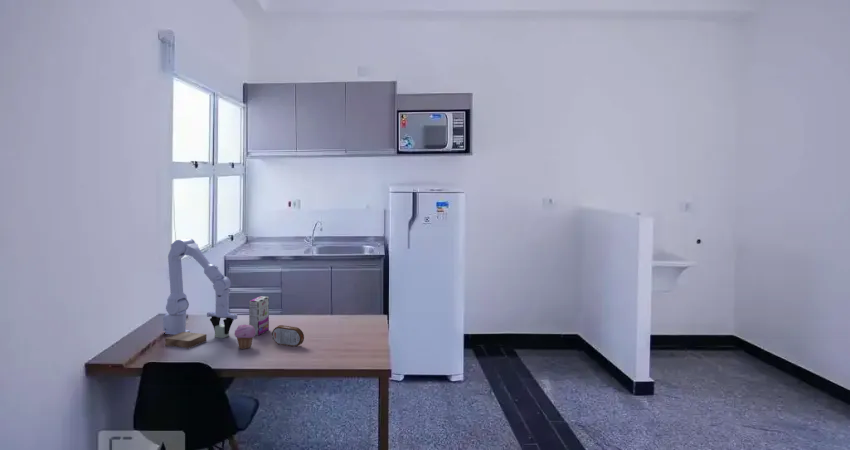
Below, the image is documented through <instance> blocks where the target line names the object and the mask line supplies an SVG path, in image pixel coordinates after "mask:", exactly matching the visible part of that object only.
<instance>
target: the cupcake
mask: <svg viewBox="0 0 850 450" xmlns="http://www.w3.org/2000/svg"><path fill="white" fill-rule="evenodd" d="M255 334H256V333H255V329H254V327H253V326H251V325H249V324H240V325H238V326H237V328H236V329H235V330H234V336H235V338H236V339H237V343H238V344H237V345H238V348H239V349H241V350H245V349H250V348H251V347H252V343H253V339H254V338H255Z"/></svg>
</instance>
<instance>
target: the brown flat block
mask: <svg viewBox="0 0 850 450" xmlns="http://www.w3.org/2000/svg"><path fill="white" fill-rule="evenodd" d="M205 342H207V333H199V332H191V331H189V332H181V333H178V334H175V335H173V334H172V335H171V336H168V337H165V338H164V344H165V346H168V347H169V346H170V347H177V348H178V347H179V348H187V349H191V348H193V347H195V346H198V345H200V344H202V343H205Z"/></svg>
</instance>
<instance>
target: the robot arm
mask: <svg viewBox="0 0 850 450" xmlns="http://www.w3.org/2000/svg"><path fill="white" fill-rule="evenodd" d="M185 256H188V257H189V256H190V257H192V258H193V259H194V260H196V262H197V263H198V264H199V265H200V266H201V267H202V268H203V274H205V276H206V277H207V278H208V280H209V281H210V282H211V283H212V287H213V289H214V291H215V311H207V312H206V318H209V321H210V323H211V325H212V327H213V330H214V331H215V326H217V325H220V323H221V322H220V321H221V319H223V320H222V321H223V324H224V326H225V334H229V335H230V329H231V326H232V324H233V323H234V320H237V319H238V314H235V313H231V312H229V309H230V308H229V307H230V306H229V305H230V303H229V302H230V294H229V293H230V292H229V291H230V288H231V286H232V281H231V280H230V277H228V276H225V275H224V274H223V273H222V272H221V271H220V270H219V267H218V265H216V264H211V263H210V262H209V259H207V258H206V256H205V255H204V253H203V252H202V251H201V249H200V247H199V244H198V243H197V242H196V241H195V240H194V239H193V238H191V237H187V238H183V239H177V240H175V241H173V242H172V243H171V244H170V250H169V252H168V256H167V259H168V261H167V262H168V274H169V275H168V276H169V277H168V278H169V290H170V294H169V296H168V297H167V298H166V300H167V302H166V305H165V311H166V313H165V314H164V316H163V320H162V332H163V331H165V332H166V333H165V334H166V335H172V336H173V335H175V334H178V333H181V332H191V330H189V329H187V310H188V309H189V306H190V303H189V301H188V299H187V294H186V293H185V292H184V285H183V283H184V282H183V270H182V269H183V268H182V259H183V258H184V257H185ZM210 317H211V318H210ZM165 334H164V335H165Z"/></svg>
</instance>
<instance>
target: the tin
mask: <svg viewBox="0 0 850 450" xmlns="http://www.w3.org/2000/svg"><path fill="white" fill-rule="evenodd" d="M271 337H272V340H273V342H274V343H275V344H277V345H280V344H281V346H286V345H288V346H287V347H293V346H296V347H298V346H300V345H302V344H303V343H304V341H305V334H304V332H303V331H302V329H300V328H299V327H297V326H290V325H285V324H284V325H283V324H280V325H277V326H276V327H275V328H273V329H272V332H271Z"/></svg>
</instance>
